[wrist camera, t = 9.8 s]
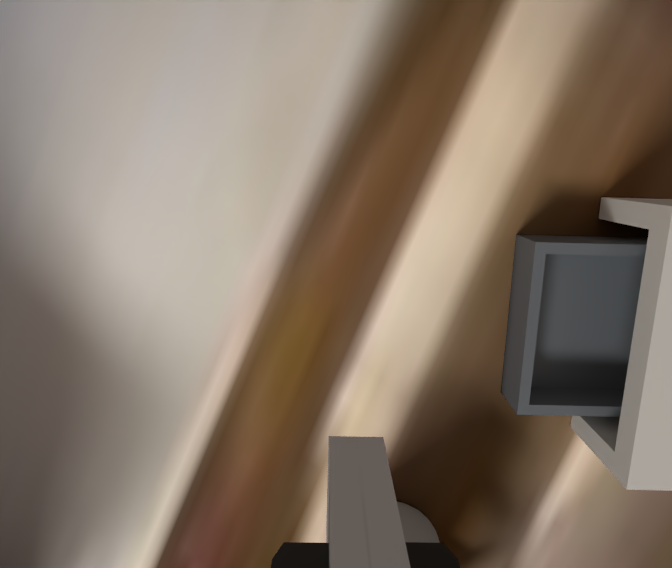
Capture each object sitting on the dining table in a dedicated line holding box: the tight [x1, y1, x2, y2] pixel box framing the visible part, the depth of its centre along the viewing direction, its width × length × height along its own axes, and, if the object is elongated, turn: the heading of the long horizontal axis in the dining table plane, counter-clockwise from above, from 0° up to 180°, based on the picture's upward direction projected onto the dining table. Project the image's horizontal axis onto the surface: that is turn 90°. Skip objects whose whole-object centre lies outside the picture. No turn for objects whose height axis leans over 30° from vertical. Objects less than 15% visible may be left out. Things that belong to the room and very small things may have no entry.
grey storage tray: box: [501, 235, 648, 417], centre depth 30 cm, size 14×10×3 cm
